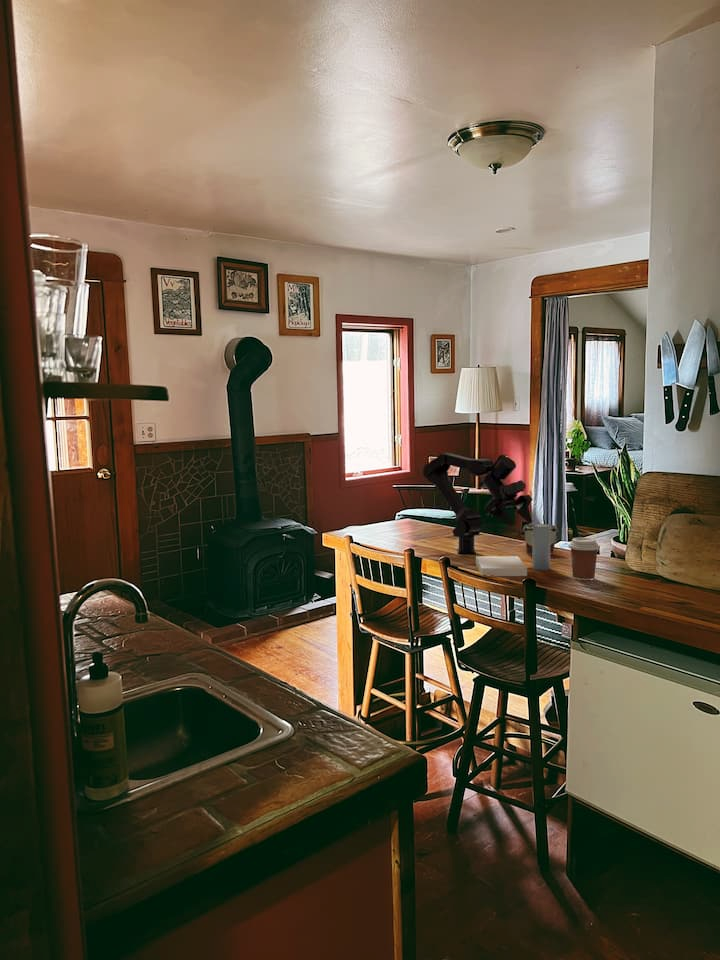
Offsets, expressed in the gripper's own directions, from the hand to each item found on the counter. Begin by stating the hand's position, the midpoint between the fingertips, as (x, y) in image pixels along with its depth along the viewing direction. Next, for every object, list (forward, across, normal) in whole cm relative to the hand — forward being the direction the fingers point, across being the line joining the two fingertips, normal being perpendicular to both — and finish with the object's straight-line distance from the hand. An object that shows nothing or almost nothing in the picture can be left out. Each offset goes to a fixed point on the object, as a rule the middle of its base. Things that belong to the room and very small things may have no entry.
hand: (522, 523), depth 235 cm
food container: (+3, +20, +16) cm, 26 cm away
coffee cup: (+28, -1, -8) cm, 29 cm away
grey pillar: (+15, 0, +4) cm, 16 cm away
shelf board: (+10, -11, +9) cm, 18 cm away
